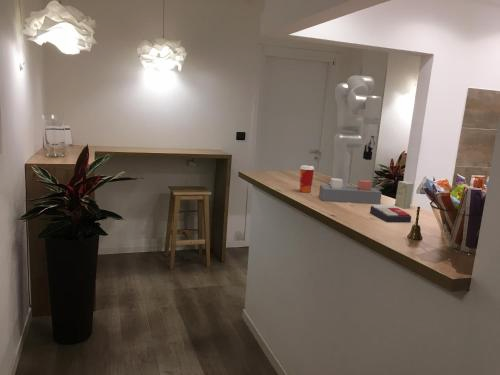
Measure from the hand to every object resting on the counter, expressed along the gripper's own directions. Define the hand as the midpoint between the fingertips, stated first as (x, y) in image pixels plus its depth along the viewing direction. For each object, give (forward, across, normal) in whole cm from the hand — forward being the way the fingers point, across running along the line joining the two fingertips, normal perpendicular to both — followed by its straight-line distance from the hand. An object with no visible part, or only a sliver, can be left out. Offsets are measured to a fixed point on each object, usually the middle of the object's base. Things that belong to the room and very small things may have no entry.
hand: (367, 159), depth 205 cm
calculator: (+22, +32, +3) cm, 39 cm away
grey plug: (+18, 0, -14) cm, 23 cm away
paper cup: (+21, -15, -27) cm, 38 cm away
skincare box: (+21, +9, +17) cm, 29 cm away
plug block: (+21, 0, -7) cm, 22 cm away
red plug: (+18, 0, 0) cm, 18 cm away
